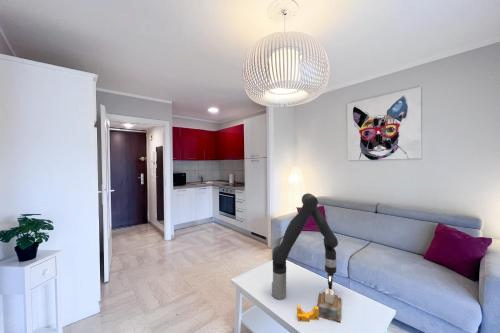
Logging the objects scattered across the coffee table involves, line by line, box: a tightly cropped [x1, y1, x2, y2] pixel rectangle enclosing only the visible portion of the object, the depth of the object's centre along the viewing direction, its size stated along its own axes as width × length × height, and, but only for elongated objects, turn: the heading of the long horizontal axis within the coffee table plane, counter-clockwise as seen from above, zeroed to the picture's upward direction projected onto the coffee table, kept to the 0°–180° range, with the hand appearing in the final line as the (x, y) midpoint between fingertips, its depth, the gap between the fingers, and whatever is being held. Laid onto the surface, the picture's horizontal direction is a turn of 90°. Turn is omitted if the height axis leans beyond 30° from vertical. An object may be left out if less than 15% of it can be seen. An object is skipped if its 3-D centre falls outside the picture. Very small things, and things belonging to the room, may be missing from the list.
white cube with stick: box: [324, 287, 335, 304], centre depth 139 cm, size 5×6×8 cm
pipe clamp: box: [296, 305, 319, 323], centre depth 125 cm, size 12×4×6 cm, turn 86°
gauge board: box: [316, 291, 342, 324], centre depth 134 cm, size 14×22×6 cm, turn 156°
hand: (330, 289), depth 146 cm, fingers closed
